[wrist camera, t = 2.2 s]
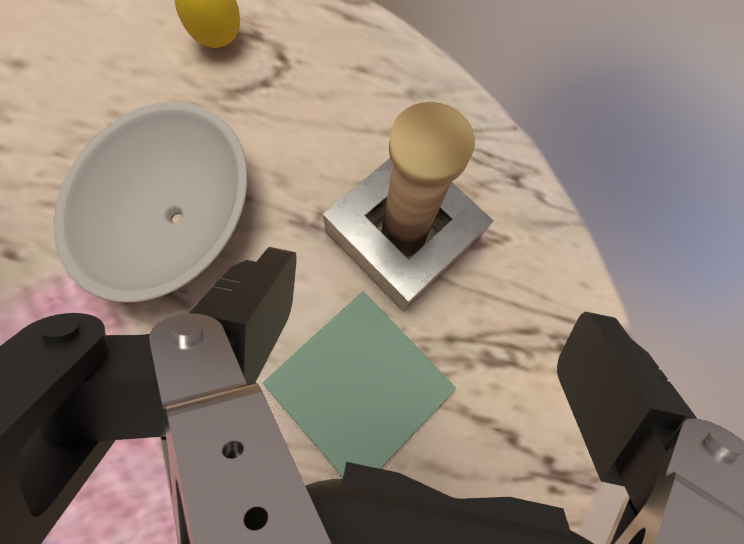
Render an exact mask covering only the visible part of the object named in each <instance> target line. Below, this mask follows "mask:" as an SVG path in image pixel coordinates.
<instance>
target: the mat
mask: <svg viewBox="0 0 744 544" xmlns="http://www.w3.org/2000/svg"><path fill="white" fill-rule="evenodd" d="M263 384H264V385H265V386H266V388H267V389H268V390H269V391H270V392H271V393H272V395H273V396H274V397H275V398H276V399H277V400H278V402H279V403H280V404H281V405H282V406H283V407H284V409H285V410H286V411H287V412H288V413H289V414H290V416H291V417H292V418H293V419H294V420H295V421H296V423H297V424H298V425H299V426H300V427H301V429H302V430H303V431H304V432H305V433H306V434H307V436H308V437H309V438H310V439H311V440H312V441H313V443H314V444H315V445H316V446H317V447H318V448H319V450H320V451H321V452H322V453H323V454H324V455H325V457H326V458H327V459H328V460H329V461H330V462H331V464H332V465H333V466H334V467H335V468H336V469H337V471H338V472H339V473H340V474H341V475H342V476H343V475H344V470H345V466H346V462H351V463H356V464H360V465H365V466H369V467H374V468H379V469H380V468H381V467H382V466H383V465H384V463H385V462H386V461H387V460H388V459H389V458H390V457H391V456H392V455H393V454H394V453H395V452H396V451H397V450H398V449H399V448H400V447H401V446H402V445H403V444H404V442H405V441H406V440H407V439H408V438H409V437H410V436H411V435H412V434H413V433H414V432H415V431H416V430H417V429H418V428H419V427H420V426H421V425H422V424H423V423H424V421H425V420H426V419H427V418H428V417H429V416H430V415H431V414H432V413H433V412H434V411H435V410H436V409H437V408H438V407H439V406H440V405H441V404H442V403H443V402H444V400H445V399H446V398H447V397H448V396H449V395H450V394H451V393H452V392H453V391H454V390H455V389H456V387H455V386H454V385H453V384H452V383H451V382H450V381H449V380H448V379H447V378H446V377H445V376H444V375H443V374H442V373H441V372H440V371H439V370H438V369H437V368H436V366H435V365H434V364H433V363H432V362H431V361H430V360H429V359H428V358H427V357H426V356H425V355H424V354H423V353H422V352H421V351H420V350H419V349H418V348H417V347H416V346H415V345H414V344H413V343H412V342H411V340H410V339H409V338H408V337H407V336H406V335H405V334H404V333H403V332H402V331H401V330H400V329H399V328H398V327H397V326H396V325H395V324H394V323H393V322H392V321H391V320H390V319H389V318H388V317H387V316H386V314H385V313H384V312H383V311H382V310H381V309H380V308H379V307H378V306H377V305H376V304H375V303H374V302H373V301H372V300H371V299H370V298H369V297H368V296H367V295H366V294H365V293H364V292H362V293H360V294H359V295H358V296H357V297H356V298H355V299H354V300H353V301H352V302H351V303H350V304H348V305H347V306H346V307H345V308H344V309H343V310H342V311H341V312H340V313H339V314H337V315H336V316H335V317H334V318H333V319H332V320H331V321H330V322H329V323H328V324H326V325H325V326H324V327H323V328H322V329H321V330H320V331H319V332H318V333H317V334H315V335H314V336H313V337H312V338H311V339H310V340H309V341H308V342H307V343H306V344H305V345H303V346H302V347H301V348H300V349H299V350H298V351H297V352H296V353H295V354H294V355H292V356H291V357H290V358H289V359H288V360H287V361H286V362H285V363H284V364H283V365H281V366H280V367H279V368H278V369H277V370H276V371H275V372H274V373H273V374H272V375H270V376H269V377H268V378H267V379H266V380H265V381H264V382H263Z"/></svg>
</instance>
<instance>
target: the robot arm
mask: <svg viewBox="0 0 744 544" xmlns="http://www.w3.org/2000/svg"><path fill="white" fill-rule="evenodd" d="M295 270H296V253H295V252H291V251H287V250H282V249H277V248H272V247H268V248H267V249H266V251H265V252H264V253H263V254H262V255H261V257H260V258H259V259H258V260H257V262H254V261H249V260H245V261H243V262H241V263H239V264H237V265H235V266H232V267H231V268H230V269H229V270H228V271H227V272H226V273H225V274H224V275H223V277H222V279H220V280H219V281H218V282H217V283H216V284H215V286H214V288H212V289H211V290H210V291H209V292H208V293H207V294H206V295H205V296H204V297H203V298H202V300H201V301H200V302H199V303H198V304H197V305H196V306H195V307H194V308H193V309H192V311H191V312H190V313H189V314H181V315H176V316H173V317H169V318H167V319H165V320H163V321H161V322H160V323H158V324H157V325H156V326H155V327H154V328H153V329H152V331H151V332H150V334H145V335H106V333H105V327H104V324H103V322H102V321H101V320H100V319H98V318H97V317H95V316H92V315H88V314H82V313H65V314H58V315H54V316H50V317H46V318H43V319H41V320H38V321H36V322H34V323H32V324H30V325H28V326H27V327H25V328H24V329H22V330H21V331H20V332H18V333H17V334H16V335H14V336H13V337H12V338H10V339H9V340H8V341H6V342H5V343H4V344H2V345H1V346H0V544H41V543H42V542H43V540H44V539H45V538H46V536H47V535H48V533H49V532H50V531H51V529H52V528H53V526H54V525H55V524H56V522H57V521H58V519H59V518H60V517H61V515H62V514H63V512H64V511H65V510H66V508H67V507H68V506H69V504H70V503H71V501H72V500H73V499H74V497H75V496H76V494H77V493H78V492H79V490H80V489H81V487H82V486H83V485H84V483H85V482H86V481H87V479H88V478H89V476H90V475H91V474H92V472H93V471H94V469H95V468H96V467H97V465H98V464H99V462H100V461H101V460H102V458H103V457H104V456H105V454H106V453H107V451H108V450H109V449H110V447H111V446H112V444H113V443H114V442H115V440H122V439H136V438H150V437H160V441H161V447H162V452H163V458H164V463H165V469H166V474H167V480H168V485H169V491H170V497H171V502H172V508H173V514H174V521H175V528H176V535H177V542H178V544H593V543H592V542H590V541H589V540H587V539H585V538H584V537H582V536H580V535H579V534H577V533H575V532H573V531H571V530H570V529H569V525H568V522H567V519H566V516H565V512H564V509H563V508H559V507H554V506H550V505H545V504H541V503H536V502H531V501H527V500H522V499H517V498H513V497H492V498H467V499H457V498H453V497H450V496H448V495H446V494H443V493H441V492H439V491H437V490H435V489H433V488H431V487H428V486H426V485H424V484H422V483H420V482H418V481H416V480H413V479H411V478H409V477H407V476H405V475H403V474H400V473H397V472H393V471H388V470H383V469H379V468H374V467H369V466H365V465H360V464H356V463H351V462H346V466H345V470H344V475H343V479H331V480H325V481H319V482H315V483H312V484H309V485H305V484H304V482H303V480H302V478H301V476H300V473H299V471H298V469H297V467H296V465H295V462H294V460H293V458H292V456H291V454H290V451H289V449H288V447H287V445H286V443H285V440H284V438H283V436H282V434H281V432H280V429H279V427H278V425H277V423H276V421H275V418H274V416H273V414H272V412H271V410H270V407H269V405H268V403H267V401H266V399H265V396H264V394H263V392H262V390H261V388H260V386H259V385H258V384H257V383H256V380H257V378H258V376H259V374H260V373H261V371H262V369H263V367H264V365H265V363H266V361H267V359H268V357H269V355H270V353H271V351H272V349H273V347H274V346H275V344H276V342H277V340H278V338H279V336H280V334H281V332H282V330H283V328H284V326H285V324H286V322H287V320H288V318H289V315H290V311H291V307H292V301H293V291H294V281H295ZM557 374H558V378H559V381H560V383H561V385H562V388H563V390H564V393H565V395H566V398H567V400H568V402H569V405H570V407H571V410H572V412H573V415H574V417H575V420H576V422H577V424H578V427H579V429H580V432H581V434H582V437H583V439H584V441H585V444H586V446H587V449H588V451H589V454H590V456H591V458H592V461H593V463H594V466H595V468H596V471H597V473H598V476H599V478H600V480H601V482H606V483H611V484H616V485H620V486H625V488H626V490H627V493H628V495H629V496H628V497H627V498H626V500H625V501H624V503H623V504H622V506H621V509H620V511H619V513H618V516H617V518H616V521H615V523H614V525H613V527H612V530H611V532H610V534H609V537H608V539H607V542H606V544H744V441H743V440H742V439H740V438H739V437H738V436H736V435H735V434H733V433H732V432H730V431H728V430H726V429H725V428H723V427H721V426H719V425H716V424H714V423H712V422H709V421H706V420H701V419H697V418H696V416H695V415H694V413H693V412H692V411H691V409H690V408H689V407H688V406H687V404H686V403H685V402H684V400H683V399H682V397H681V396H680V395H679V393H678V392H677V391H676V389H675V388H674V387H673V385H672V384H671V383H670V382H668V381H667V377H666V376H665V375H664V373H663V372H662V371H661V370H659V367H658V365H657V364H656V363H655V361H654V360H653V359H652V357H651V356H650V354H649V353H648V352H647V351H645V350H644V349H643V348H642V347H640V346H639V345H638V344H637V343H636V342H634V341H633V340H632V339H631V338H630V337H629V335H628V334H627V333H626V331H625V330H624V328H623V327H622V326H621V324H620V323H619V322H618V320H617V319H616V318H614V317H609V316H605V315H600V314H595V313H590V312H584V313H582V314H581V315H580V316H579V318H578V320H577V322H576V324H575V326H574V328H573V330H572V332H571V334H570V336H569V338H568V340H567V342H566V344H565V346H564V348H563V350H562V352H561V354H560V356H559V359H558V364H557Z"/></svg>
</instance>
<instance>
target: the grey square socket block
mask: <svg viewBox="0 0 744 544" xmlns="http://www.w3.org/2000/svg"><path fill="white" fill-rule="evenodd" d="M392 166H393V163H392V161H391V158H390V159H388V160H387V161H386V162H385V163H384V164H382V165H381V166H380V167H379V168H378V169H376V170H375V171H374V172H373V173H372V174H370V175H369V176H368V177H367V178H366V179H364V180H363V181H362V182H361V183H359V184H358V185H357V186H356V187H355V188H353V189H352V190H351V191H350V192H349V193H347V194H346V195H345V196H344V197H343V198H341V199H340V200H339V201H338V202H337V203H335V204H334V205H333V206H332V207H331V208H329V209H328V210H327V211H326V212H325V213H323V218H324V223H325V229H326V232H327V233H328V234H329V236H330V237H331V238H332V239H333V240H334V241H335V242H336V243H337V244H338V245H339V246H340V247H341V248H342V249H343V250H344V251H345V252H346V253H347V254H348V255H349V256H350V257H351V258H352V259H353V260H354V261H355V262H356V263H357V264H358V265H359V266H360V267H361V268H362V269H363V270H364V271H365V273H366V274H367V275H368V276H369V277H370V278H371V279H372V280H373V281H374V282H375V283H376V284H377V285H378V286H379V287H380V288H381V289H382V290H383V291H384V292H385V293H386V294H387V295H388V296H389V297H390V298H391V299H392V300H393V301H394V302H395V303H396V304H397V305H398V306H399V307H400V308H401V309H402V311H403V310H405V309H406V308H407V307H408V306H409V305H410V304H411V303H412V302H413V301H414V300H415V299H416V298H417V297H418V296H419V295H420V294H421V293H422V292H423V291H424V290H426V289H427V288H428V287H429V286H430V285H431V284H432V283H433V282H434V281H435V280H436V279H437V278H438V277H439V276H440V275H441V274H442V273H443V272H444V271H445V270H447V269H448V268H449V267H450V266H451V265H452V264H453V263H454V262H455V261H456V260H457V259H458V258H459V257H460V256H461V255H462V254H463V253H464V252H465V251H466V250H468V249H469V248H470V247H471V246H472V245H473V244H474V243H475V242H476V241H477V240H478V239H479V238H480V237H481V236H482V234H483V233H484V232H485V231H486V229H487V228H488V227H489V226H490V225H491V223H492V222H493V220H492V219H491V218H490V217H489V216H488V215H487V214H486V213H485V212H484V211H482V210H481V209H480V208H479V207H478V206H477V205H476V204H475V203H474V202H473V201H472V200H471V199H469V198H468V197H467V196H466V195H465V194H464V193H463V192H462V191H461V190H460V189H459V188H458V187H456V186H455V185H454V184H453V183H452V182H451V184H450V187H449V189H448V191H447V193H446V195H445V198H444V200H443V202H442V204H441V206H440V209H439V211H438V213H437V215H436V217H435V219H434V222H433V224H432V226H433V227H434V228H435V229H436V230H437V231H438V233H437V234H436V235H435V236H434V237H433V238H432V239H431V240H430V241H429V242H428V243H426V244H425V245H424V246H423V247H422V248H421V249H420V250H419V251H418V252H417V253H416V254H414V255H413V256H412V257H411V258H410V259H409V260H408V259H407V258H406V257H405V256H404V255H403V254H402V253H401V252H400V251H399V250H398V249H397V248H396V247H395V246H394V245H393V244H392V243H391V242H390V241H389V240H388V239H387V238H386V237H385V236H384V235H383V234H382V233H381V232H380V231H379V230H378V229H377V228H376V227H375V226H374V224H375V223H376V222H377V221H378V220H379V219H380V218H382V217H383V216H384V215H385V209H386V203H387V197H388V191H389V185H390V178H391V172H392Z"/></svg>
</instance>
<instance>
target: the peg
mask: <svg viewBox="0 0 744 544" xmlns="http://www.w3.org/2000/svg"><path fill="white" fill-rule="evenodd" d="M474 146H475V137H474V133H473V129H472V127H471V125H470V123H469V122H468V120H467V119H466V118H465V117H464V116H463V115H462V114H461V113H460V112H458V111H457V110H456V109H454V108H452V107H450V106H448V105H445V104H441V103H435V102H425V103H419V104H416V105H413V106H411V107H409V108H407V109H406V110H404V111H403V112H402V113H401V114H400V115H399V116H398V117H397V118H396V120H395V122H394V124H393V126H392V130H391V136H390V143H389V154H390V158H391V161H392V163H393V166H392V172H391V178H390V185H389V191H388V197H387V203H386V209H385V215H384V221H383V227H382V234H383V235H384V236H385V237H386V238H387V239H388V240H389V241H390V242H391V243H392V244H393V245H394V246H395V247H396V248H397V249H398V250H399V251H400V252H401V253H402V254H403V255H404V256H407V255H411V254H414V253H416V252H417V251H418V250H419V249H420V248H421V247H422V245H423V243H424V241H425V239H426V237H427V235H428V233H429V230H430V228H431V226H432V224H433V222H434V219H435V217H436V215H437V213H438V211H439V209H440V206H441V204H442V202H443V200H444V198H445V195H446V193H447V191H448V189H449V187H450V184H451V182H452V181H453V180H455V179H456V178H457V177H459V176H460V175H461V174H462V172H463V171H464V170H465V168H466V166H467V164H468V162H469V160H470V158H471V156H472V153H473V150H474Z"/></svg>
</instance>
